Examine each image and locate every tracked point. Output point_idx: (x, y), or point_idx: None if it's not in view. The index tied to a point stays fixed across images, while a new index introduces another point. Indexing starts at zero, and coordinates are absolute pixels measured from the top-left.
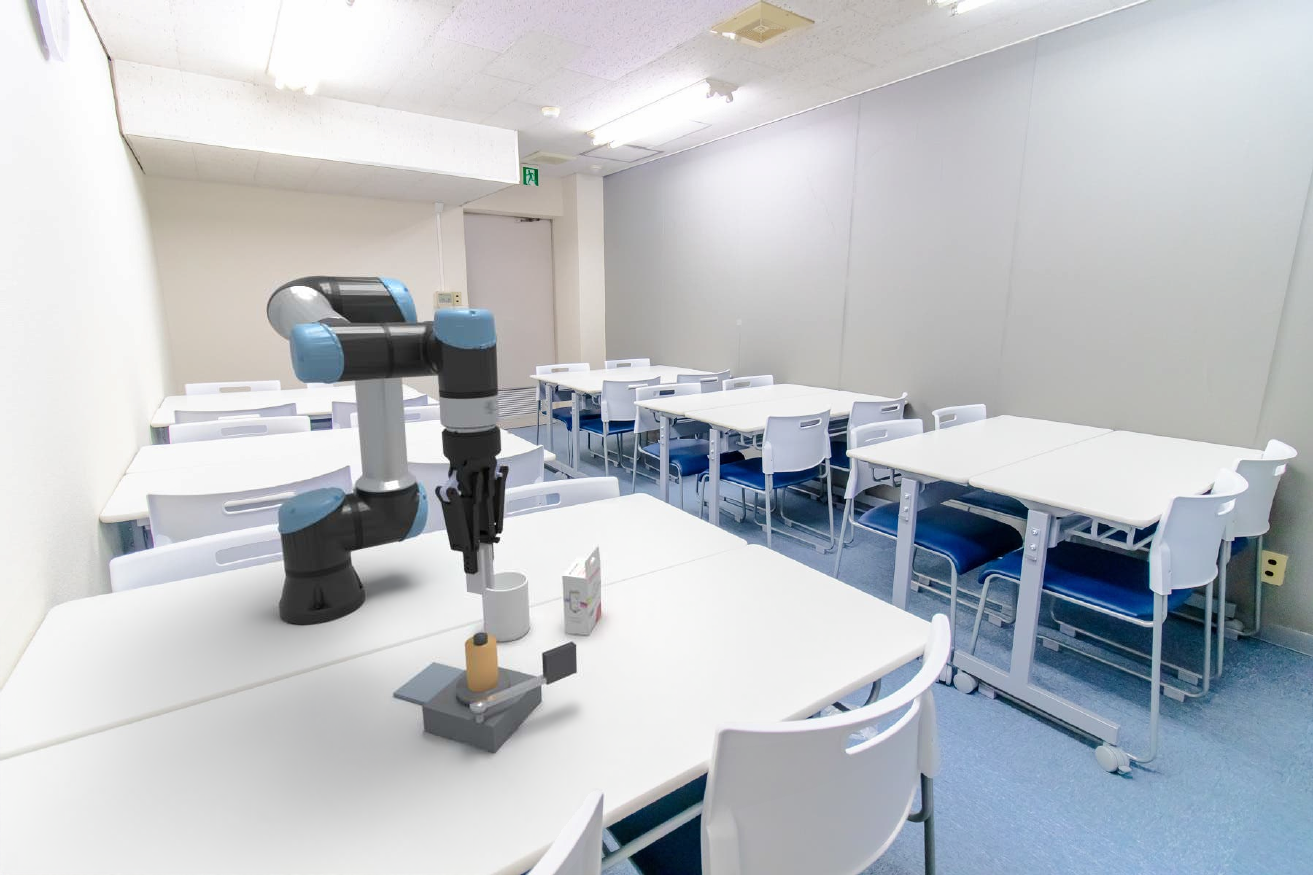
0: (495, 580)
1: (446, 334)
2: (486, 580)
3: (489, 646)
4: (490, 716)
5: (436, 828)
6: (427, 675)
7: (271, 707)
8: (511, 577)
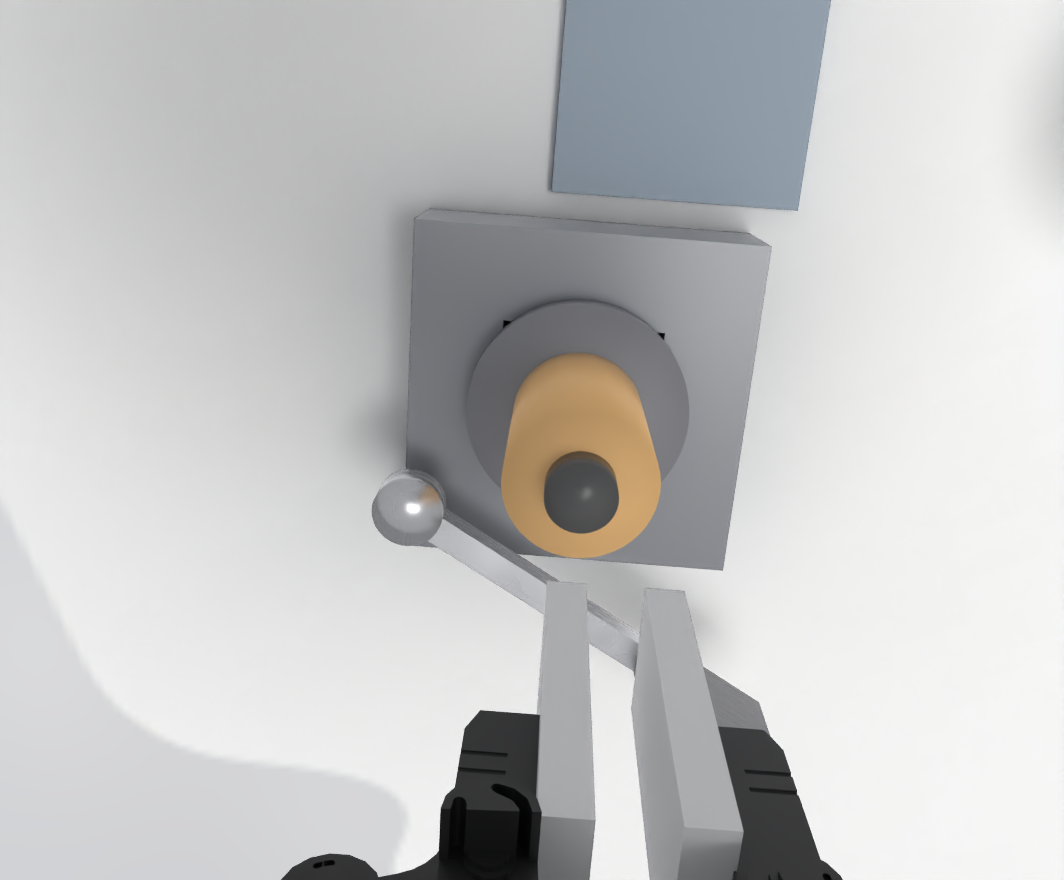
0: None
1: None
2: (640, 711)
3: (557, 546)
4: (449, 507)
5: (117, 502)
6: None
7: None
8: None
